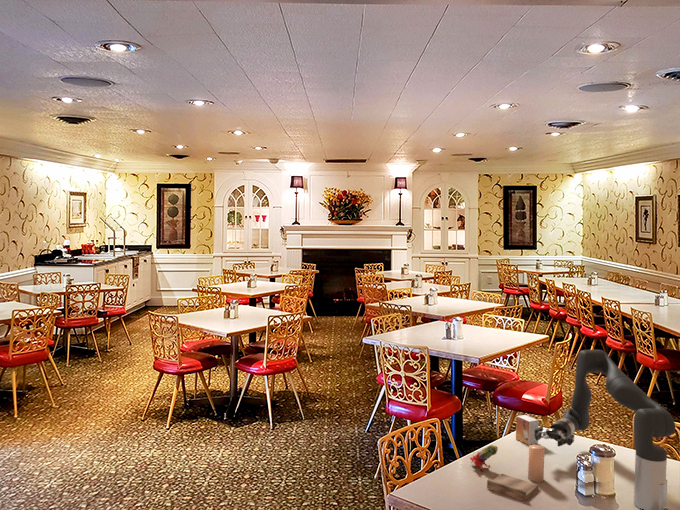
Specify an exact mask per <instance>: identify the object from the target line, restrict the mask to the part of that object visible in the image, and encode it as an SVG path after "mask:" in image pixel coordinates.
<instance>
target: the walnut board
mask: <svg viewBox="0 0 680 510" xmlns="http://www.w3.org/2000/svg"><path fill="white" fill-rule="evenodd" d="M486 481H487V483H486V489H487V488H489V489H488V490H490V489H492V490H491V491H493V490H494V491H493V492H497V493H499V494H503V495H506V496H509V497H512V498H515V497H516V498H515V499H518V498H519V499H518V500H521V499H522V501H524V500H525V501H526V500H528V499H529V498H530V497H531V496H532V495H534V494H535V493H536V492H537V491H538V490H539V484H537V483H535V482H534V483H533V482H530V481H528V480H523V479H520V478H517V477H513V476H510V475H507V474H504V473H501V474H499V475H498V476H496V477H495V478H494V479H487V480H486Z"/></svg>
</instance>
